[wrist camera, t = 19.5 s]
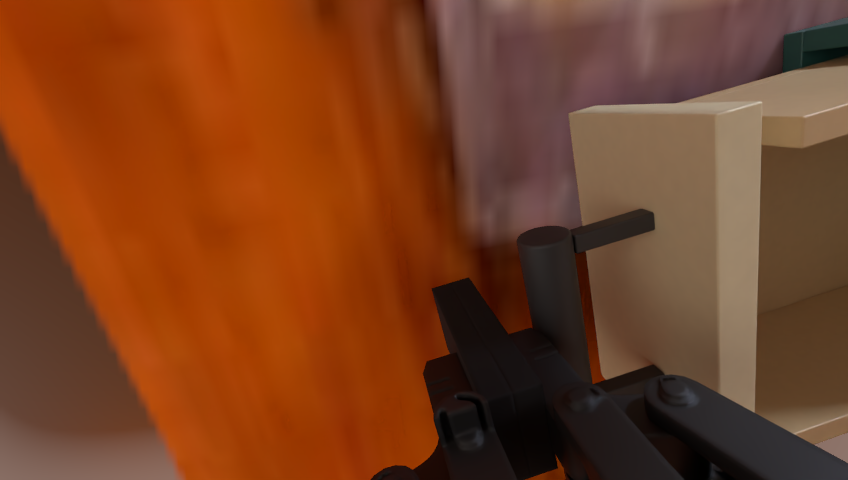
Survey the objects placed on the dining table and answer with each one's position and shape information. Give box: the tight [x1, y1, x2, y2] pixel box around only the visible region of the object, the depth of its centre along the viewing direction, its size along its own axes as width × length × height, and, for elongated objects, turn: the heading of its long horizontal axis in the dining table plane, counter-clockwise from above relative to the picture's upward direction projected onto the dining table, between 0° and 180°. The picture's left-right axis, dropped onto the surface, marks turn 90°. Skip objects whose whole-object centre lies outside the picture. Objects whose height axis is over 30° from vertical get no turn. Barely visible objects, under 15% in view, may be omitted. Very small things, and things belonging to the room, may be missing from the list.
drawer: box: [517, 55, 848, 445], centre depth 15 cm, size 19×12×7 cm, turn 105°
